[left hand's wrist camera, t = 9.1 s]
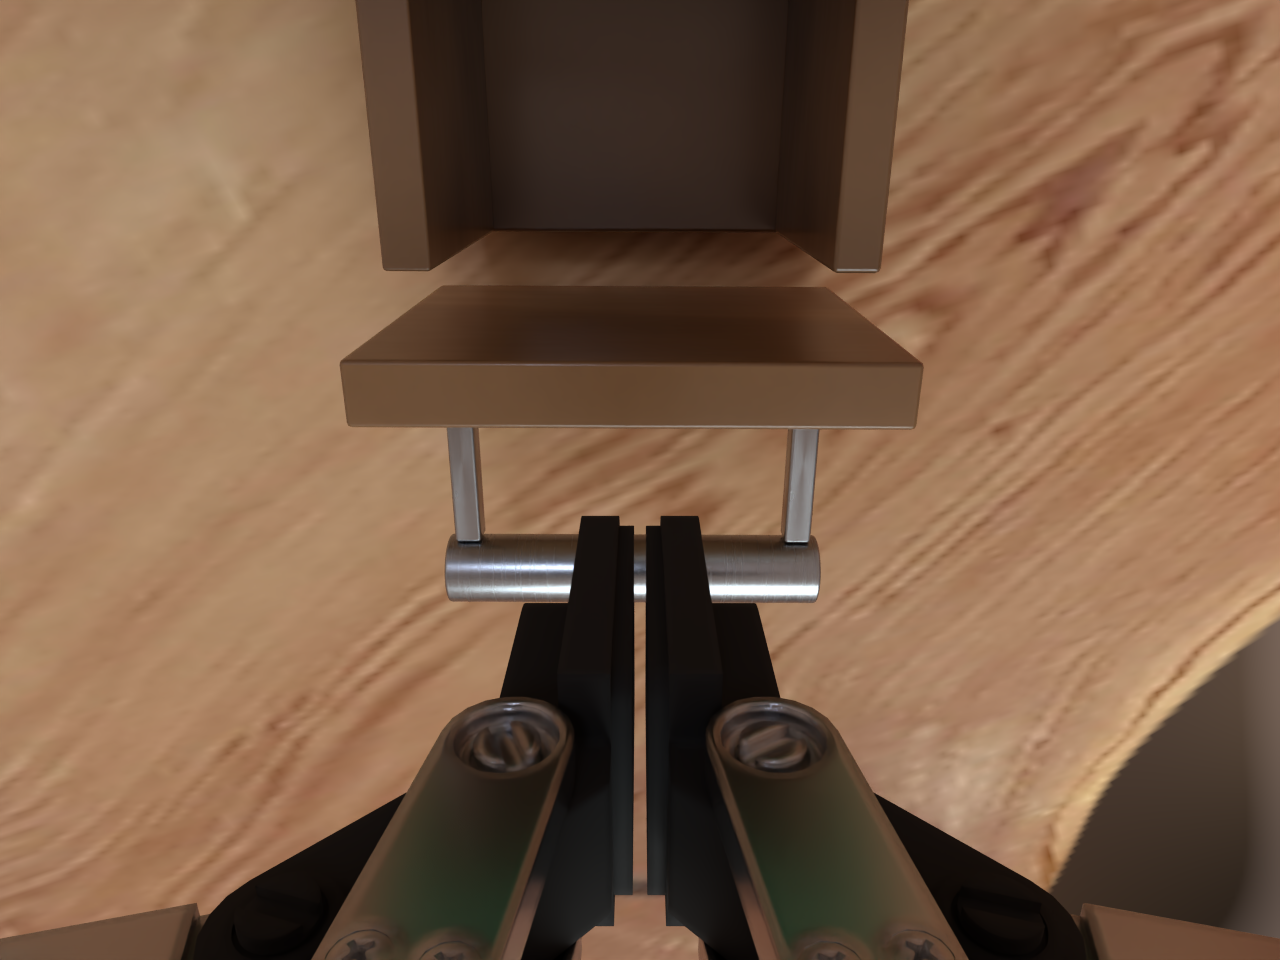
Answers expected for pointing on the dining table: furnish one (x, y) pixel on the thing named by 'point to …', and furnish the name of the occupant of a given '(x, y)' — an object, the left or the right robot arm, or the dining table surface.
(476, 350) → the drawer
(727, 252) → the dining table surface
